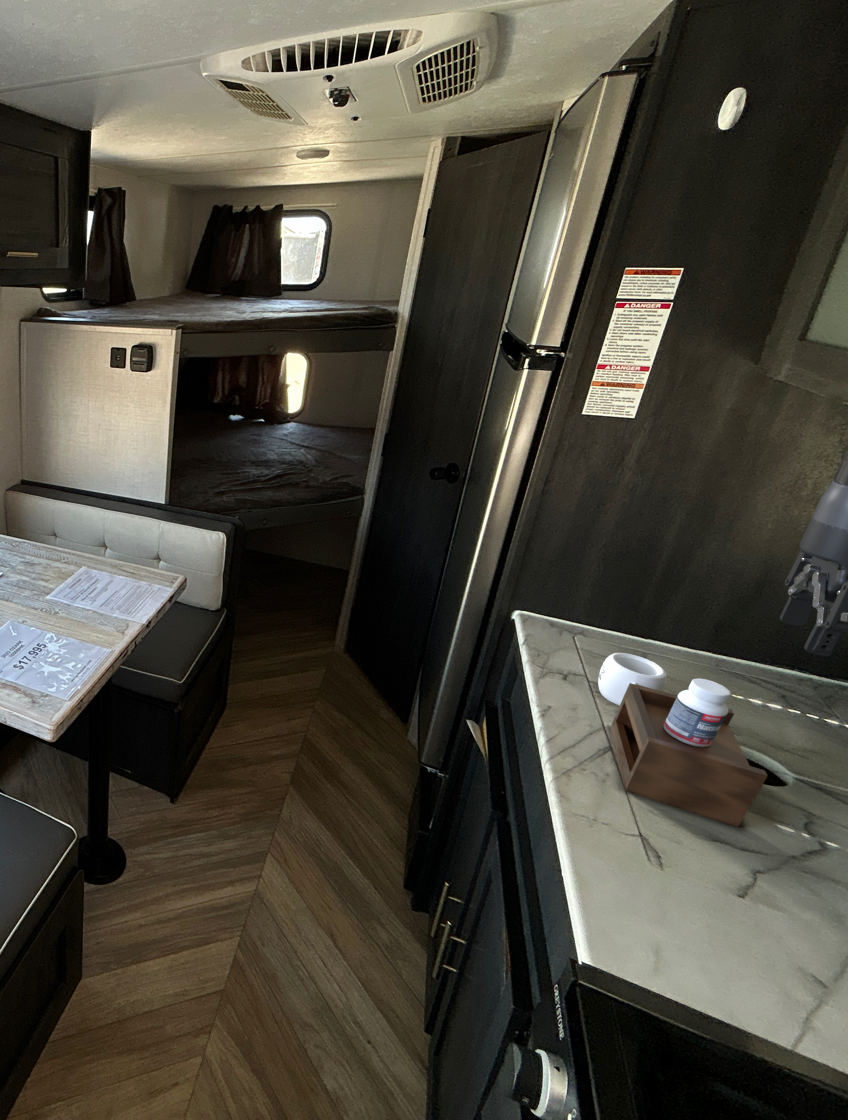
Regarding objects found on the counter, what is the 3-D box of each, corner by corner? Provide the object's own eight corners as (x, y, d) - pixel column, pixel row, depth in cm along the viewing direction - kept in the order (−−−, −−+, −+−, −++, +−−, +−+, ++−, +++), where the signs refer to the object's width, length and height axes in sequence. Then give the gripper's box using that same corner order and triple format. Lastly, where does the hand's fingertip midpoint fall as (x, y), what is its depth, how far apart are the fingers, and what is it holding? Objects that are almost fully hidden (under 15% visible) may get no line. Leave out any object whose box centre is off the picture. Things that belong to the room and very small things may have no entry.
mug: (592, 680, 119) (607, 644, 116) (652, 699, 114) (669, 662, 111) (590, 712, 110) (605, 675, 107) (654, 734, 105) (672, 695, 102)
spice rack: (705, 760, 100) (731, 709, 96) (736, 831, 87) (767, 776, 83) (608, 731, 106) (629, 682, 102) (624, 793, 93) (648, 740, 89)
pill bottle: (690, 750, 91) (716, 700, 87) (653, 725, 95) (675, 677, 92) (721, 746, 91) (747, 696, 88) (682, 722, 96) (705, 674, 93)
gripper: (942, 549, 68) (872, 674, 74) (879, 510, 79) (822, 621, 85) (840, 535, 72) (781, 655, 78) (793, 499, 83) (745, 607, 89)
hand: (803, 637), depth 82 cm, fingers open, 8 cm apart
